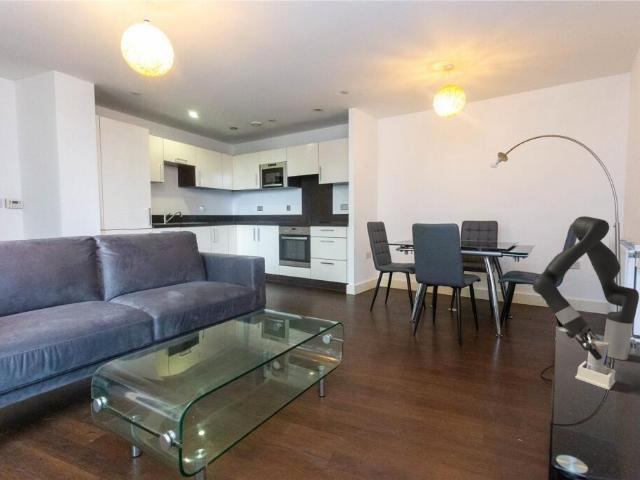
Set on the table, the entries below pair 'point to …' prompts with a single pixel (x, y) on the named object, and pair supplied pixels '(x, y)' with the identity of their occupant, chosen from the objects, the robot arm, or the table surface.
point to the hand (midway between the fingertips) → (602, 356)
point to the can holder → (596, 376)
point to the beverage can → (601, 363)
